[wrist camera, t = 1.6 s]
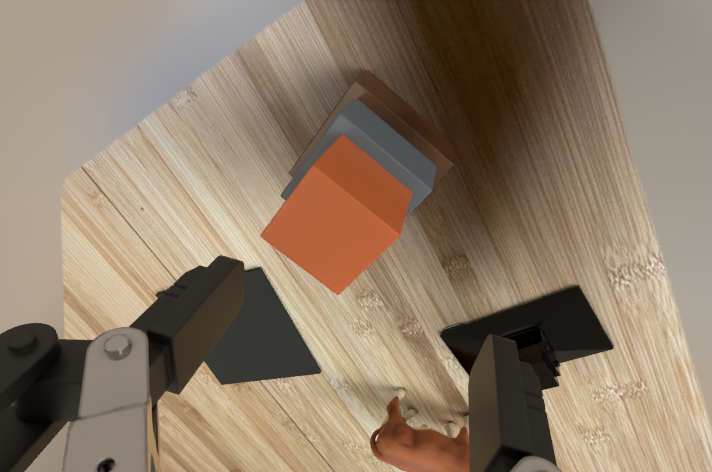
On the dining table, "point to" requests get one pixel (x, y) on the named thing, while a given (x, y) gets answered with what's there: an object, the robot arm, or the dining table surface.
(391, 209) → the top block
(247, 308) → the mat
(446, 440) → the bull figurine
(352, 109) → the middle block
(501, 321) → the build plate
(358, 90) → the base block
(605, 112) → the dining table surface
